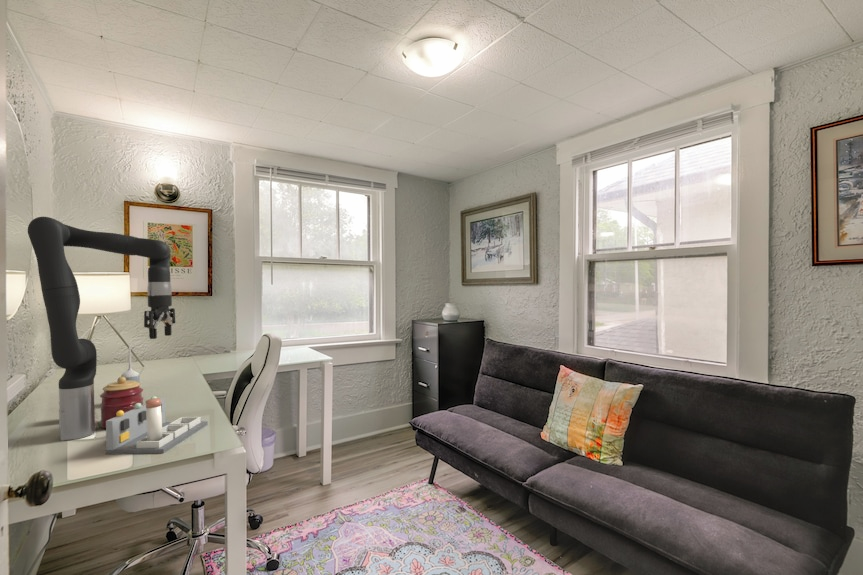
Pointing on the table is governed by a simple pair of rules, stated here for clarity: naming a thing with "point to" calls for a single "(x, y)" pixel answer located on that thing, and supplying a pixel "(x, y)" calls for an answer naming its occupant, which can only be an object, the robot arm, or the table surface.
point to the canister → (119, 398)
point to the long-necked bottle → (131, 371)
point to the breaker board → (131, 431)
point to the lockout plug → (154, 419)
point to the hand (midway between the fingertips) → (160, 337)
